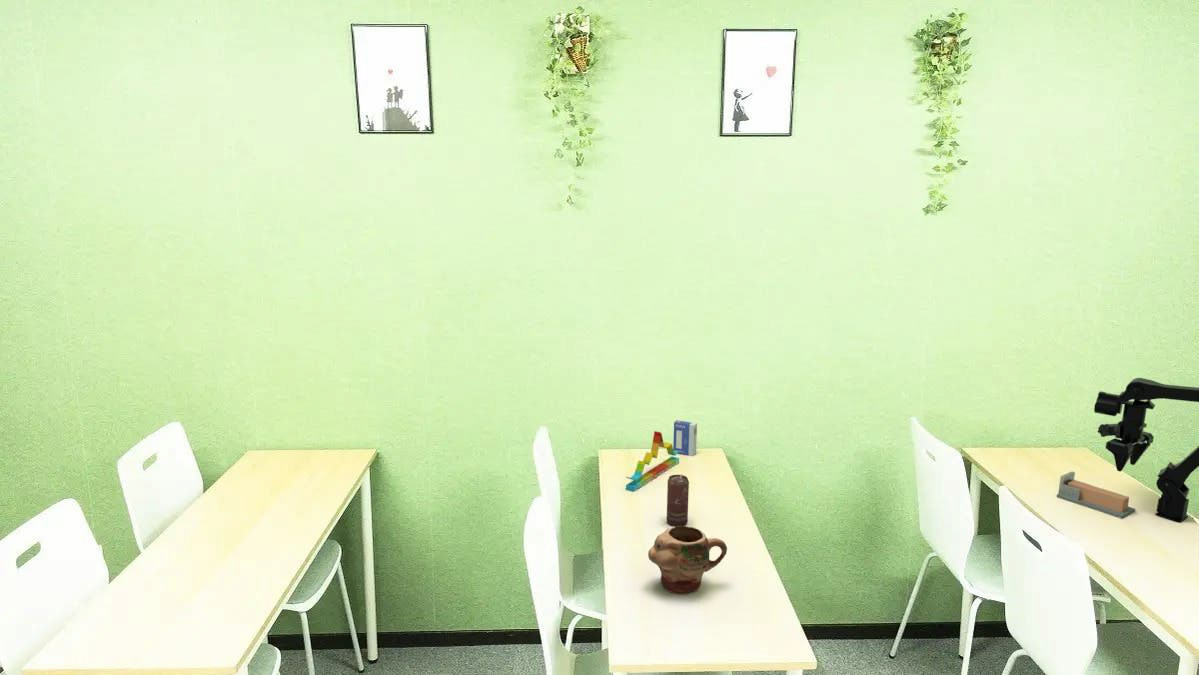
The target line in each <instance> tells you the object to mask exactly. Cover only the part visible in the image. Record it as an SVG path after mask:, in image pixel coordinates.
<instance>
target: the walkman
mask: <svg viewBox="0 0 1199 675" xmlns="http://www.w3.org/2000/svg"><path fill="white" fill-rule="evenodd" d="M697 435H698V423H696V422H692V421H691V422H690V421H683V420H677V419H676V420H675V421H674V422H673V442H672V447H673V450H674V451H678V453H677V454H676V455H682V456H690V457H694V456H696V455H697V442H698V441H697Z"/></svg>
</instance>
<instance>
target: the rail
mask: <svg viewBox="0 0 1199 675" xmlns="http://www.w3.org/2000/svg"><path fill="white" fill-rule="evenodd" d="M1079 481H1080V480H1077V481H1076V479H1074V480H1073V481H1071V482H1069V483H1068V485H1069V486H1072V487H1075V488H1078V489H1081V492H1080V499H1081V500H1084V501H1088V502H1091V503H1094V504H1097V505H1100V506H1103V507H1106V508H1109V509H1112V510H1115V511H1119V512H1123V511H1125V510H1127V508H1128V507H1129V500H1130V496H1128V495H1123V494H1122V493H1118V492H1114V491H1111V490H1108V489H1104V488H1101V487H1098V486H1095V485H1092V484H1090V485H1089V483H1086V482H1083V481H1080V482H1079ZM1082 482H1083V483H1082ZM1085 483H1086V484H1085Z"/></svg>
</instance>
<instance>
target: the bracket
mask: <svg viewBox="0 0 1199 675" xmlns="http://www.w3.org/2000/svg"><path fill="white" fill-rule="evenodd" d="M1075 474H1076V472H1075V471H1069V472H1068V473H1065V474H1063V475H1060V478H1059V485H1058V486H1059V487H1058V492H1057V494H1060V495H1063V496H1066V497H1069V498H1072V499H1075V500H1079V499H1080V492H1081V489H1078V488H1075V487H1072V486H1069V485H1068V483H1069V482H1071V481H1073V480H1076V479H1075ZM1076 481H1079V482H1082V483H1085V484H1087V482H1083V481H1080V480H1076ZM1088 484H1089V483H1088ZM1089 485H1091V484H1089Z"/></svg>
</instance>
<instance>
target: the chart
mask: <svg viewBox="0 0 1199 675" xmlns="http://www.w3.org/2000/svg"><path fill="white" fill-rule="evenodd" d="M659 448H663V449H666V452H667V455H670V457H668V458H667V459H665V460H664V461H663V462H661V463H659V464H657V465H656V466H654V467H653V468H650V469H649V470H647V471H646V472H645V473H643V472H644V468H645V466H650V465H651V462H652V459H653V458H654V459H658V455H659V450H660V449H659ZM677 453H678V451H674V450H673V443H670V442H664V440H663V434H662V432H661V431H655V430H654V431H653V438H652V443H651V450H650V452H647V451H646V452H645V455H644V457H643V460H638V461H637V464H636V467H635V470H634V474H632V476H630V477H628V476H625V478H626V479H629V480H631V481H630V482H628V483H627V484H625V490H626V491H629V492H634V493H635V492H636V491H637V490H639V489H640V488H642V487H643V486H646V485H647V484H648V483H650V482H652V481H653V480H654V479H656V478H658V477H659V476H661V475H662V474H664V473H665V472H667V471H669V470H670V469H672V468H673V467H675V466H676V465H678V464H679V463H680V457H676V456H677V455H678V454H677Z"/></svg>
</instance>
